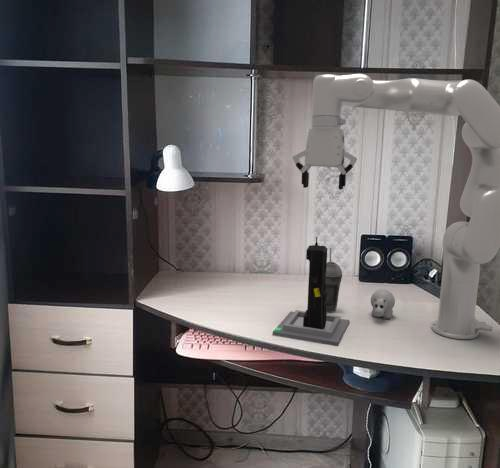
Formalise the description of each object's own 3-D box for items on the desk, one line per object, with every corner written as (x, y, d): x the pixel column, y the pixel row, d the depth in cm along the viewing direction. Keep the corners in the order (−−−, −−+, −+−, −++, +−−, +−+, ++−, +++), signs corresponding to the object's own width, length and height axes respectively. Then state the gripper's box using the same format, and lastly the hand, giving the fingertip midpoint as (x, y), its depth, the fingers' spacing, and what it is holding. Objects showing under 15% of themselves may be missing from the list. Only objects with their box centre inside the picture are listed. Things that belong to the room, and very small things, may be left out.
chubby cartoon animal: (363, 322, 147) (365, 295, 145) (372, 310, 157) (374, 285, 156) (388, 327, 143) (390, 299, 142) (395, 314, 154) (397, 288, 153)
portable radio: (324, 332, 136) (329, 243, 131) (302, 329, 137) (306, 241, 132) (326, 322, 143) (331, 237, 139) (305, 320, 145) (309, 236, 140)
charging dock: (349, 323, 146) (349, 315, 145) (337, 346, 129) (338, 337, 129) (290, 314, 152) (290, 306, 151) (272, 335, 135) (272, 326, 135)
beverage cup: (322, 314, 152) (326, 251, 149) (313, 307, 159) (316, 246, 155) (344, 313, 154) (348, 250, 151) (334, 305, 161) (337, 245, 157)
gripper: (360, 124, 131) (357, 188, 135) (297, 124, 137) (295, 185, 140) (356, 123, 125) (353, 191, 128) (290, 123, 130) (288, 187, 133)
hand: (323, 188), depth 134 cm, fingers open, 9 cm apart
